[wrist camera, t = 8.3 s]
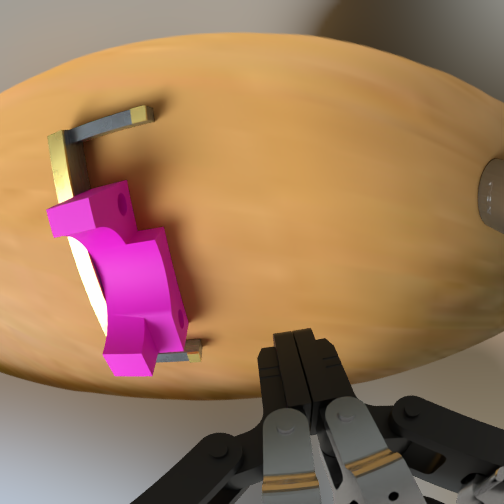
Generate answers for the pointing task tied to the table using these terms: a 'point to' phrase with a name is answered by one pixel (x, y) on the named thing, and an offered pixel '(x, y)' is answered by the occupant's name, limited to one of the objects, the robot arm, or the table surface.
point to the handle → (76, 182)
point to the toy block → (127, 277)
